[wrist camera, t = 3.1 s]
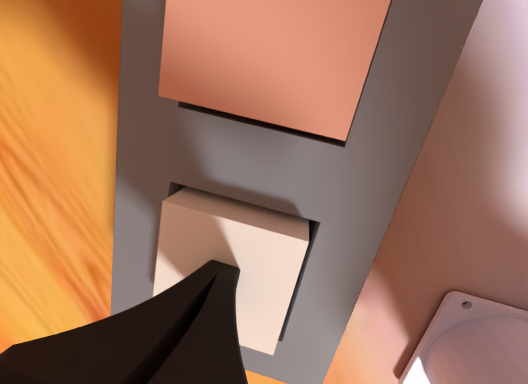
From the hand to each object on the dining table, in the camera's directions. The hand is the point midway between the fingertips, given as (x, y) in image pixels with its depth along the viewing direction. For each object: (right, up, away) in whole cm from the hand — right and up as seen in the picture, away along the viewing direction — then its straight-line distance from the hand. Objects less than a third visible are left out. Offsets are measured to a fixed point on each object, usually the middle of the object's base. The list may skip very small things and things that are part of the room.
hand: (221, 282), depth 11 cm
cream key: (+1, +1, +3) cm, 3 cm away
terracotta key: (+3, +10, -1) cm, 10 cm away
